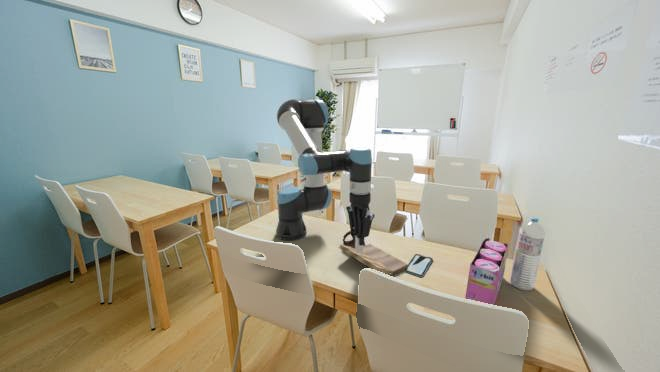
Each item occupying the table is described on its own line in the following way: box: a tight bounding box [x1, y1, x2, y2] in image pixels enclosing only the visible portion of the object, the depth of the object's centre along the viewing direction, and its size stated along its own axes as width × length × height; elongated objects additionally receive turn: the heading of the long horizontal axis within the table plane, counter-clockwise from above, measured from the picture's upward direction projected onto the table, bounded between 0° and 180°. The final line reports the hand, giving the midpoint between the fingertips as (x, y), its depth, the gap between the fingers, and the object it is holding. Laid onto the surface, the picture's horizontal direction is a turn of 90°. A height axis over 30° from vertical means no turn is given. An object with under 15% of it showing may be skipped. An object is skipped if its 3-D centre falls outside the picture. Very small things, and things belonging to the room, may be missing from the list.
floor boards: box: [362, 243, 409, 276], centre depth 111 cm, size 21×8×2 cm, turn 36°
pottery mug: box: [342, 230, 366, 247], centre depth 123 cm, size 12×10×8 cm
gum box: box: [464, 238, 509, 306], centre depth 91 cm, size 24×8×14 cm, turn 141°
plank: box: [339, 244, 394, 276], centre depth 105 cm, size 21×10×2 cm, turn 36°
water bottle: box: [509, 217, 546, 292], centre depth 90 cm, size 7×7×25 cm
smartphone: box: [403, 253, 434, 278], centre depth 106 cm, size 7×1×15 cm
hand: (359, 251), depth 102 cm, fingers closed
